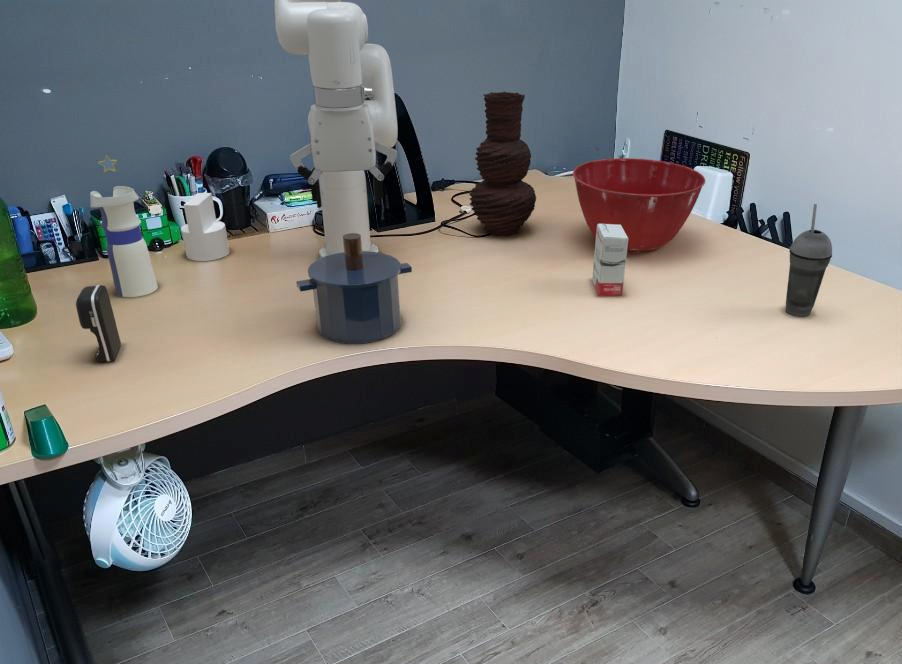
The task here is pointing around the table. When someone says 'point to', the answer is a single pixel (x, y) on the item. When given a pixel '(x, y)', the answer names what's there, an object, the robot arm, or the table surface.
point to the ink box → (609, 259)
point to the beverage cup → (807, 269)
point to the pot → (357, 310)
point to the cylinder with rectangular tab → (203, 230)
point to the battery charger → (99, 320)
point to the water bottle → (124, 240)
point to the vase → (503, 168)
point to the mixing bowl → (638, 198)
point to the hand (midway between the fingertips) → (348, 203)
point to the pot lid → (354, 266)
